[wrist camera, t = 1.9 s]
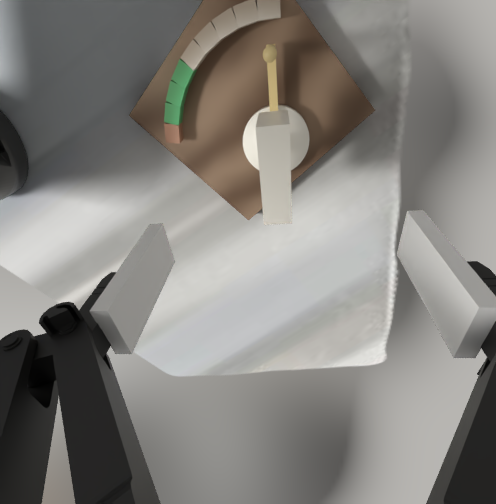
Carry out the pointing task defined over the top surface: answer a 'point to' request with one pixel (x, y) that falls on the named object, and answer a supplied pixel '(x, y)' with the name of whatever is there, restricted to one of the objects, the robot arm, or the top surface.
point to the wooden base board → (246, 92)
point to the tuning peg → (275, 148)
